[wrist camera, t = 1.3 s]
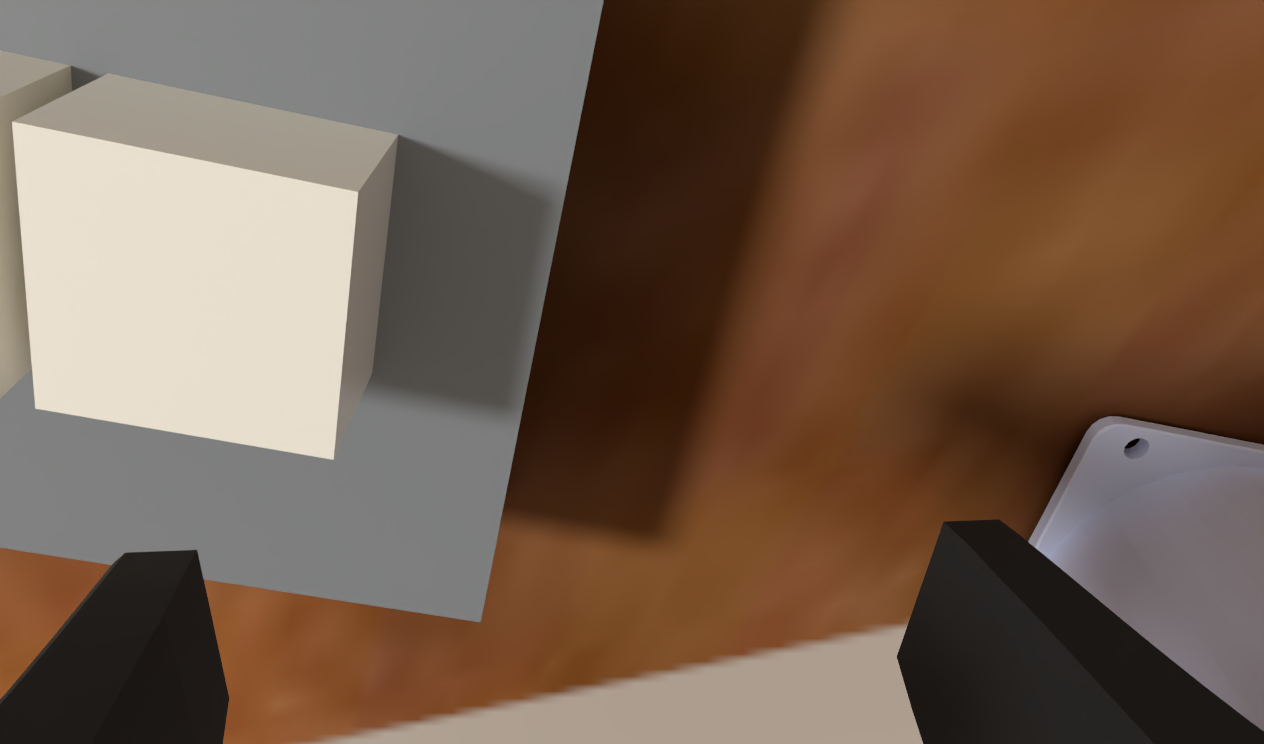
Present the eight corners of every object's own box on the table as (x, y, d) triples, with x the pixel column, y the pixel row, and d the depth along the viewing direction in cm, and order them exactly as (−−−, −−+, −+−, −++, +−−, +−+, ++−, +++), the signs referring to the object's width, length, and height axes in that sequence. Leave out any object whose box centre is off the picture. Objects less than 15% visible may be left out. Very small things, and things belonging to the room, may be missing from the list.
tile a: (398, 134, 14) (357, 192, 12) (372, 372, 16) (333, 460, 14) (108, 72, 14) (11, 121, 12) (116, 325, 16) (35, 408, 13)
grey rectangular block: (640, -210, 16) (646, -218, 12) (502, 495, 22) (480, 621, 19) (-124, -408, 14) (-365, -482, 11) (-28, 405, 21) (-158, 523, 17)
